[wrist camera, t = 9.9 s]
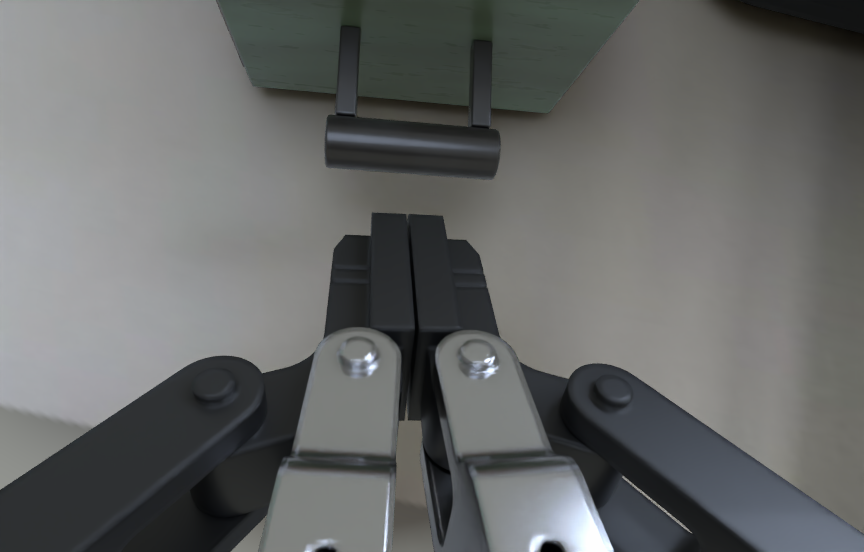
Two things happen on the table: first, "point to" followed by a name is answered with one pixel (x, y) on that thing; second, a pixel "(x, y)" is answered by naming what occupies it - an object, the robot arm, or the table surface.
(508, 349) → the robot arm
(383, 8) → the drawer
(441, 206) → the table surface
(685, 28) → the table surface
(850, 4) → the black nas enclosure
